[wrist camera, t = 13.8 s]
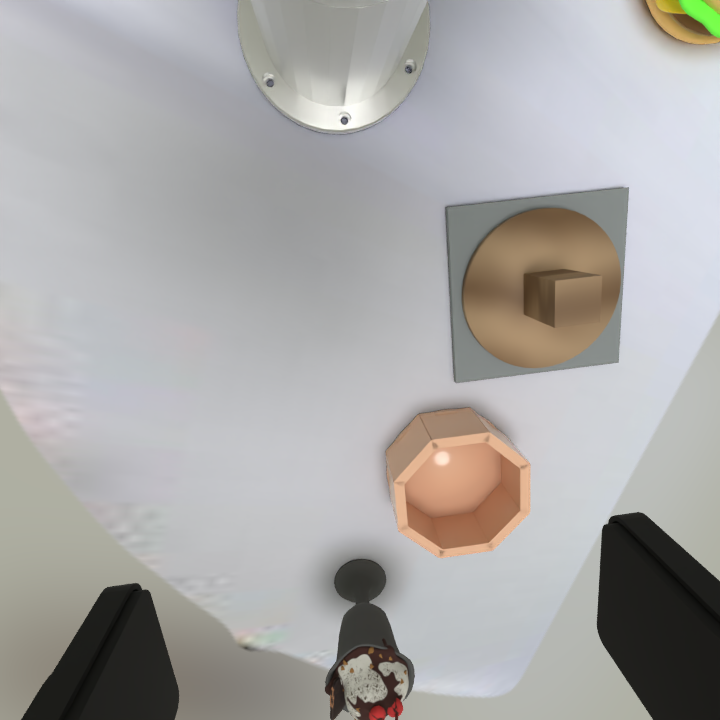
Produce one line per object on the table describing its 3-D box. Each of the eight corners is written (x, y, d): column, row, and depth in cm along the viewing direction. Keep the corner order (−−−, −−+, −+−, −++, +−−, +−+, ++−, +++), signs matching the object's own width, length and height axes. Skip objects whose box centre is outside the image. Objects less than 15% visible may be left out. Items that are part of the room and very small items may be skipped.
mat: (445, 207, 34) (447, 207, 34) (623, 187, 35) (628, 187, 35) (454, 380, 38) (456, 383, 38) (614, 360, 39) (618, 362, 39)
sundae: (408, 567, 44) (449, 735, 29) (371, 617, 45) (392, 801, 31) (349, 539, 42) (362, 701, 28) (312, 592, 44) (307, 771, 29)
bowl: (380, 417, 39) (388, 444, 34) (506, 401, 39) (531, 425, 35) (391, 526, 42) (400, 564, 37) (508, 510, 43) (531, 546, 38)
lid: (458, 217, 34) (485, 215, 28) (617, 200, 35) (675, 194, 29) (464, 373, 38) (489, 399, 32) (609, 355, 38) (659, 377, 33)
